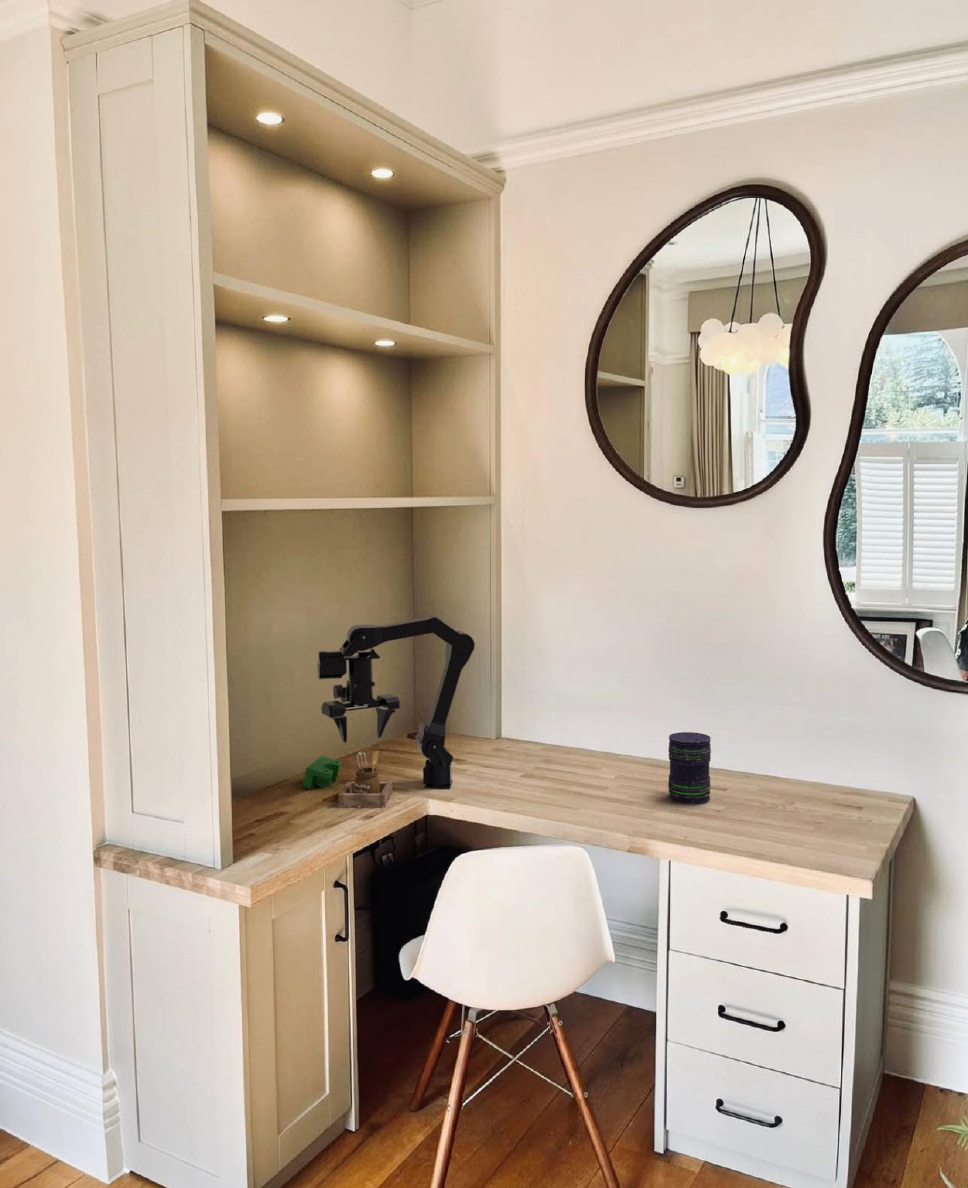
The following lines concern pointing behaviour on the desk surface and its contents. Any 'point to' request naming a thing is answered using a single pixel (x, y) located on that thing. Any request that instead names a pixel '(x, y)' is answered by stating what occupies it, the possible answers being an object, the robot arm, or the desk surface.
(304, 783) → the clamp
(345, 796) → the socket block
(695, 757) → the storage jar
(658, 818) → the desk surface
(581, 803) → the desk surface
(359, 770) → the utensil holder
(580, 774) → the desk surface
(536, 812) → the desk surface
